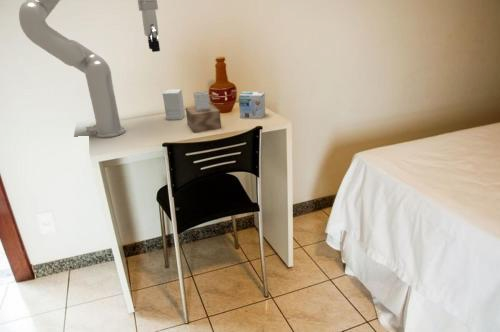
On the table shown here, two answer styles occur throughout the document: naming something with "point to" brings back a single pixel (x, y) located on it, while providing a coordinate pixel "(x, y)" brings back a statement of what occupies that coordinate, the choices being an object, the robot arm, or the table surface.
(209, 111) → the walnut block
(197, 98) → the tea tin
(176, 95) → the supplement box
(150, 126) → the table surface
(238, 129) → the table surface
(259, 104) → the light bulb box
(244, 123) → the table surface
